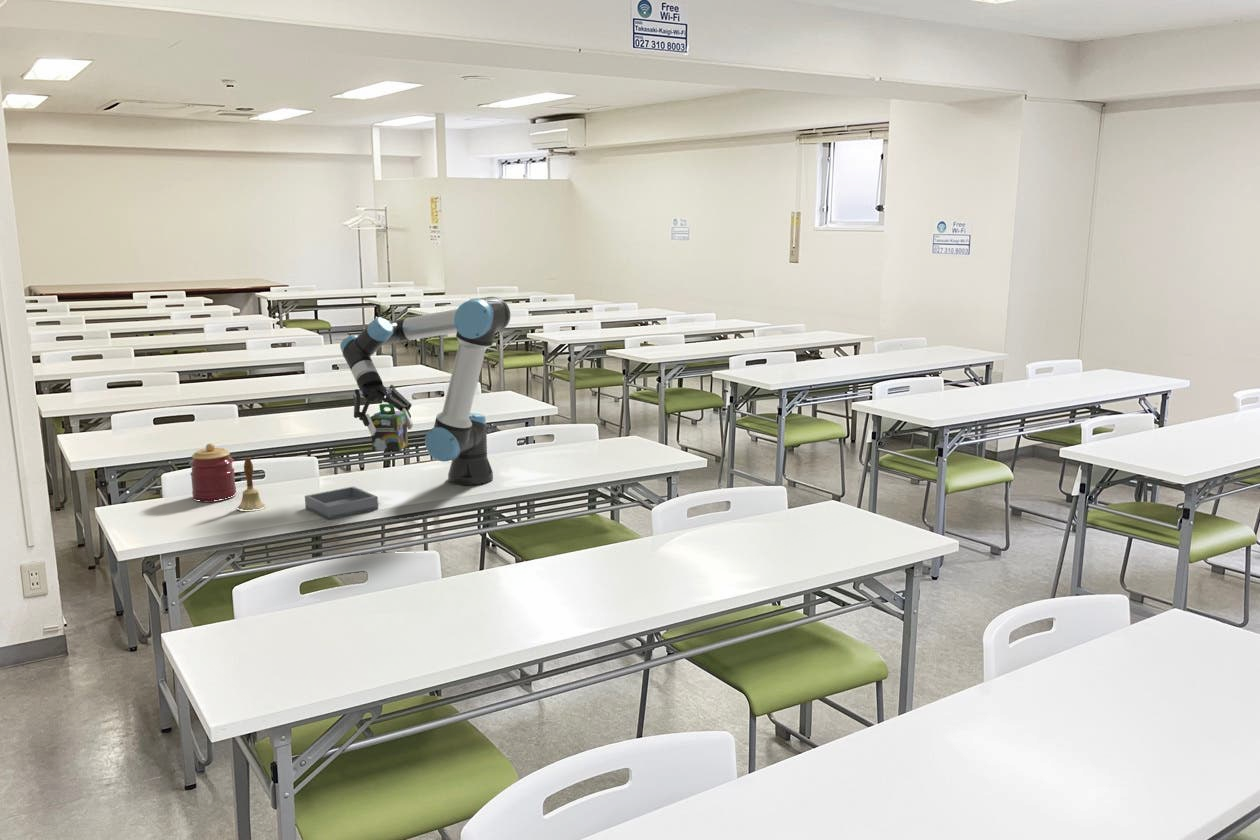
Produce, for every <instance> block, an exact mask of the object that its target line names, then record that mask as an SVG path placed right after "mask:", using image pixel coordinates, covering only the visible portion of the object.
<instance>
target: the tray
mask: <svg viewBox="0 0 1260 840" xmlns="http://www.w3.org/2000/svg"><path fill="white" fill-rule="evenodd" d="M378 500H379V498H378V496H377V495H375V494H373V493H370V492H367V491H366V490H362V489H360V488H358V487H355V486H348V487H344V488H338V489H337V488H336V489H333V490H328V491H323V492H319V493H318V492H317V493H312V494H308V495H304V502H305V505H304V506H305V509H306V510H308V511H310V512H312V513H314V514H316V515H318V516H320V517H322V518H324V519H325V520H328V521H329V520H335V519H338V518H339V519H340V518H344V517H347V516H349V517H350V516H354V515H359V514H362V513H367V512H371V511H377V510H379V502H378Z"/></svg>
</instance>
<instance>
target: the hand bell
mask: <svg viewBox="0 0 1260 840" xmlns="http://www.w3.org/2000/svg"><path fill="white" fill-rule="evenodd" d="M243 471H244V474H245V476H246V487H247V488H246V489H245V490H243V492H242V497H241V502H240V504H239V505H238V506H237V508H239V509H243V510H253V509H260V508H262V507H264V506H265V505H266V504H265V503H264V502H263V501H262V500H261V497H260V494H259V490H258V489H256V488H255V487H254V484H253V473H254V464H253V462H252V460H251V457H245V460H244V464H243Z"/></svg>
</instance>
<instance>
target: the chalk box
mask: <svg viewBox="0 0 1260 840" xmlns="http://www.w3.org/2000/svg"><path fill="white" fill-rule="evenodd" d="M378 406H379V412H377V413H374V414H372V415H371V416H370V418H371V420H372V422H373V424H374V426H375V428H376V432H375V434H374V435H371V434H370V440H371V449H372V452H389V453H393V452H394V453H400V452H401V451H402V450H403V449H405V448H406V447H408V446H409V436H408V433H409V432H408V428H407V420H406V411H400V410H396V411H395V407H394V405H393V404H389V403H381V404H380V403H379V405H378ZM385 408H388V409H389V410H385Z"/></svg>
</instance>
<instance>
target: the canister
mask: <svg viewBox="0 0 1260 840" xmlns="http://www.w3.org/2000/svg"><path fill="white" fill-rule="evenodd" d="M230 454H231V452H230V451H228V450H226V449H225V448H224V447H223V448H222V447H216V446H215V445H214V443H207V444H206V446H205V448H202V449H199V450H197V451H195V453H193V454H192V455H191V458H192V460H191V461H190V462H189V464H188V465H189V466H190V467H191V472H190V474H189V475H190V477H191V487H192V489H191V490H192V491H191V493H192V494H191V495H192V499H193V500H194V499H196V500H200V501H214V500H219V499H225V498H228V497H231V496H233V495H234V494H235V493H236V494H237V487H236V481H235V468H234V467H233V462H234V458H232V457H231V456H230Z"/></svg>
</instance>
